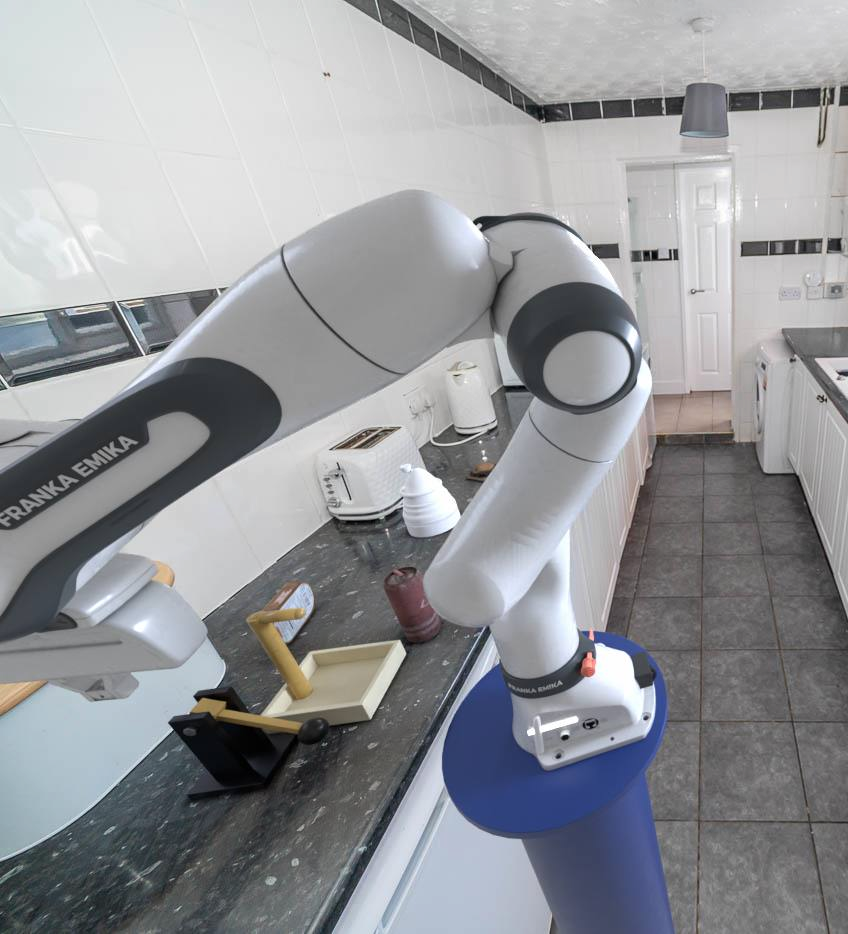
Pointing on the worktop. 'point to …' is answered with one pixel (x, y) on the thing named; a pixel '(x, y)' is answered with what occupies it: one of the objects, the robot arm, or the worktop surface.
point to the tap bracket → (231, 748)
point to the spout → (280, 647)
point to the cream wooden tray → (340, 684)
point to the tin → (288, 598)
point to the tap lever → (266, 721)
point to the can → (411, 604)
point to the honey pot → (427, 504)
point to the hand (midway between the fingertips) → (117, 693)
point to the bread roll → (482, 471)
